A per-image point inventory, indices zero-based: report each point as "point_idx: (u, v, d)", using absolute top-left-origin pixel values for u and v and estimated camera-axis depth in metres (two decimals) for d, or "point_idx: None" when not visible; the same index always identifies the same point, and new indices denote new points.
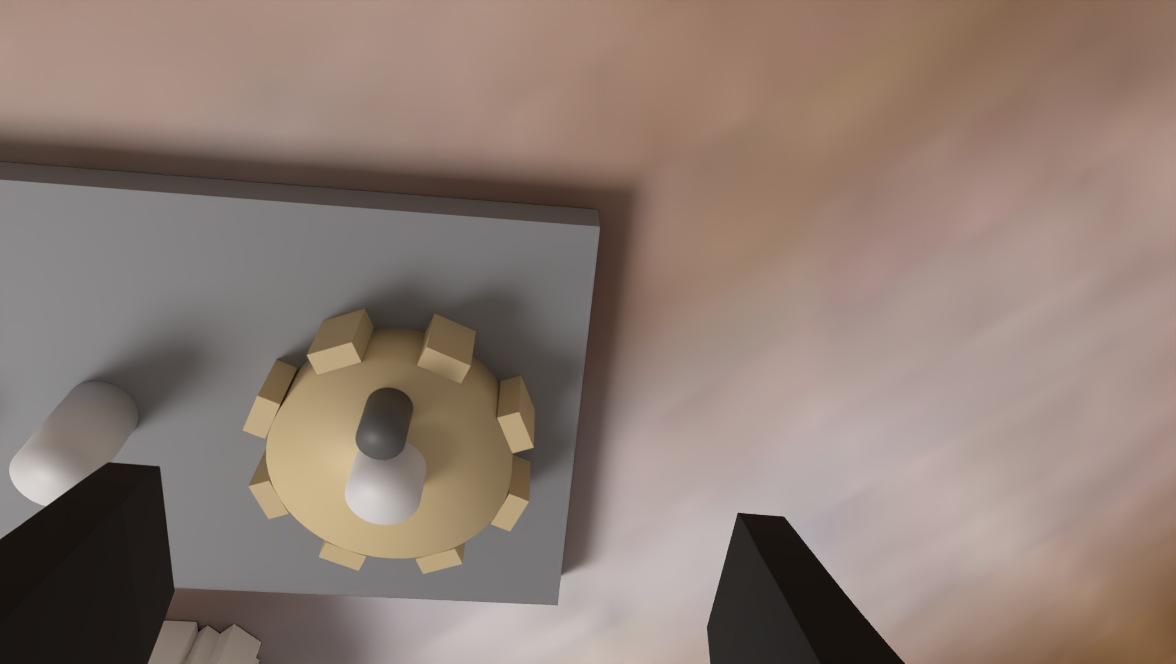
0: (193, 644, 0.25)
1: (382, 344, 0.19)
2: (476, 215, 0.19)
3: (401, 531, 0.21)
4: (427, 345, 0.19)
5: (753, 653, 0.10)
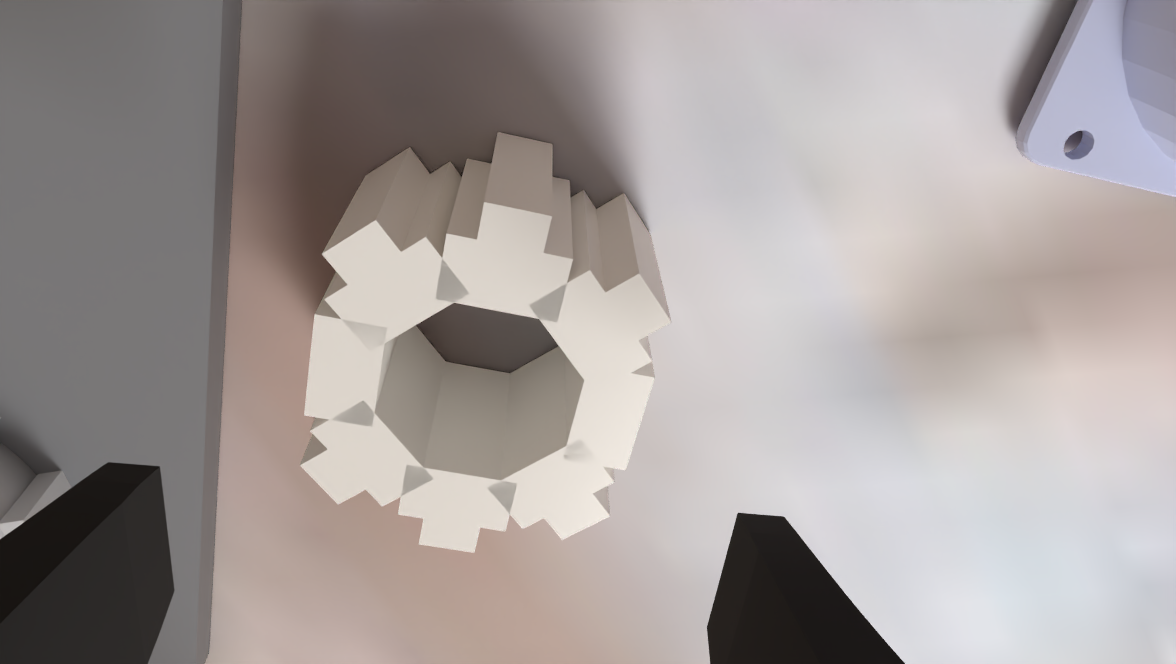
0: None
1: None
2: None
3: None
4: None
5: (753, 653, 0.10)
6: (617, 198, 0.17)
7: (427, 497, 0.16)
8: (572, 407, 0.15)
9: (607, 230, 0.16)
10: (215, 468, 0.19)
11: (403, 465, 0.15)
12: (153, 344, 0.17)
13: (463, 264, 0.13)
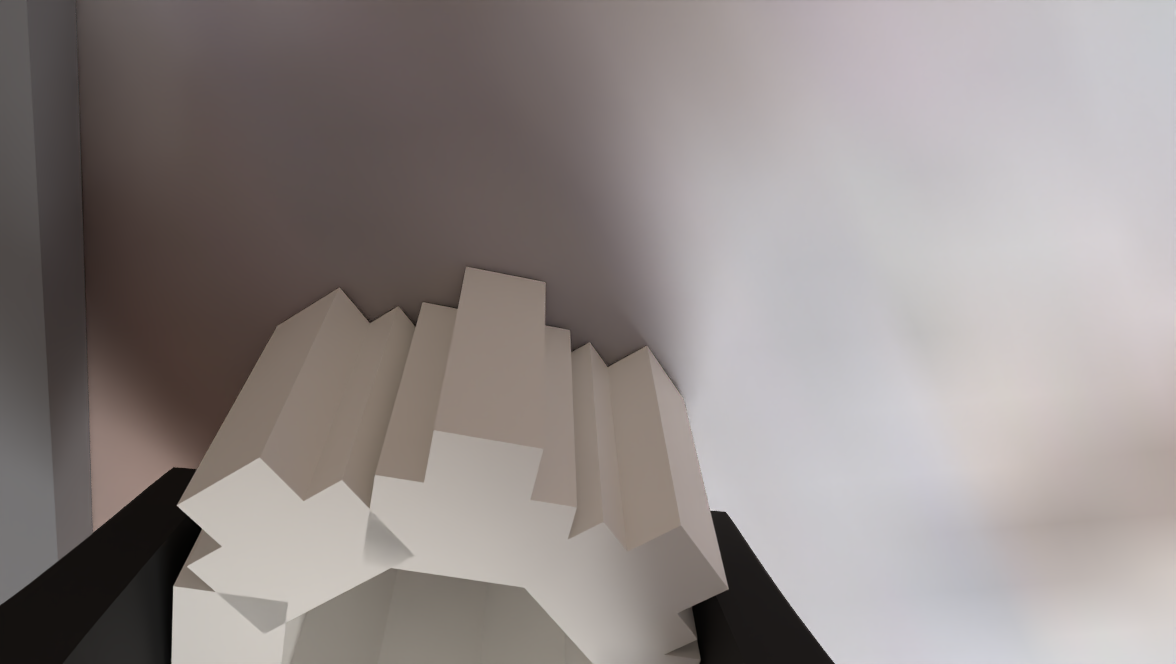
0: None
1: None
2: None
3: None
4: None
5: None
6: (638, 354, 0.12)
7: None
8: None
9: (625, 414, 0.11)
10: None
11: None
12: None
13: (403, 517, 0.09)
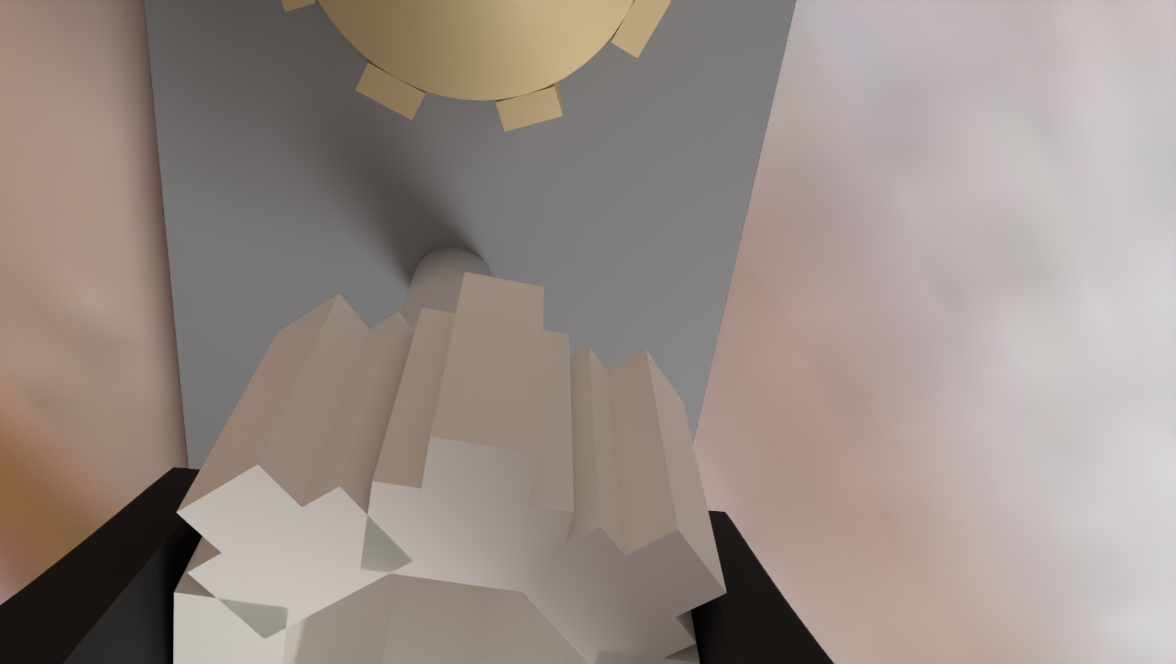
0: None
1: None
2: None
3: None
4: None
5: None
6: (637, 357, 0.12)
7: None
8: None
9: (624, 418, 0.11)
10: None
11: None
12: None
13: (401, 522, 0.09)
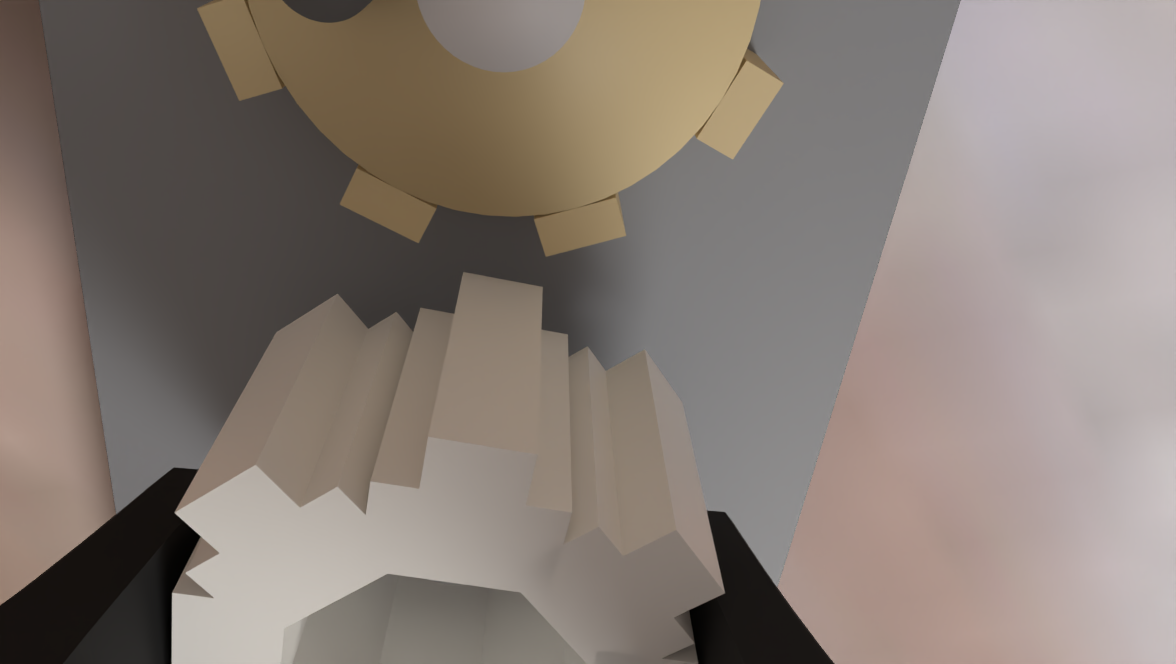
0: None
1: None
2: None
3: None
4: None
5: None
6: (635, 358, 0.12)
7: None
8: None
9: (622, 418, 0.11)
10: None
11: None
12: None
13: (399, 522, 0.09)
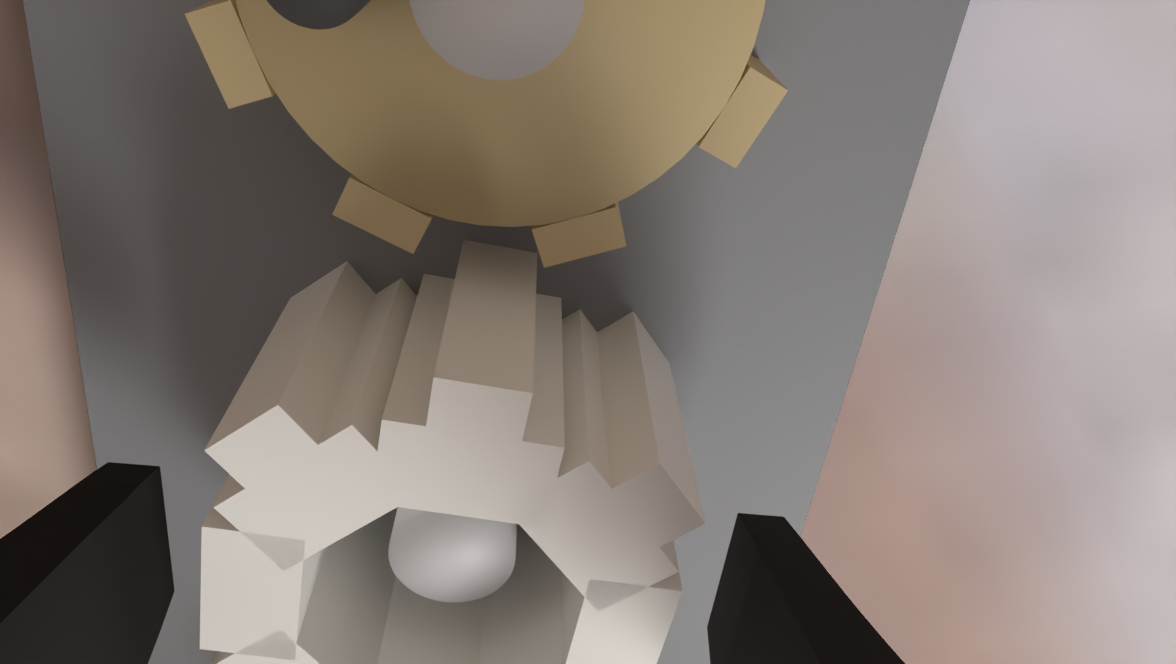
0: None
1: None
2: None
3: None
4: None
5: (753, 653, 0.10)
6: (624, 319, 0.13)
7: None
8: (569, 618, 0.11)
9: (612, 372, 0.12)
10: None
11: None
12: None
13: (408, 458, 0.09)
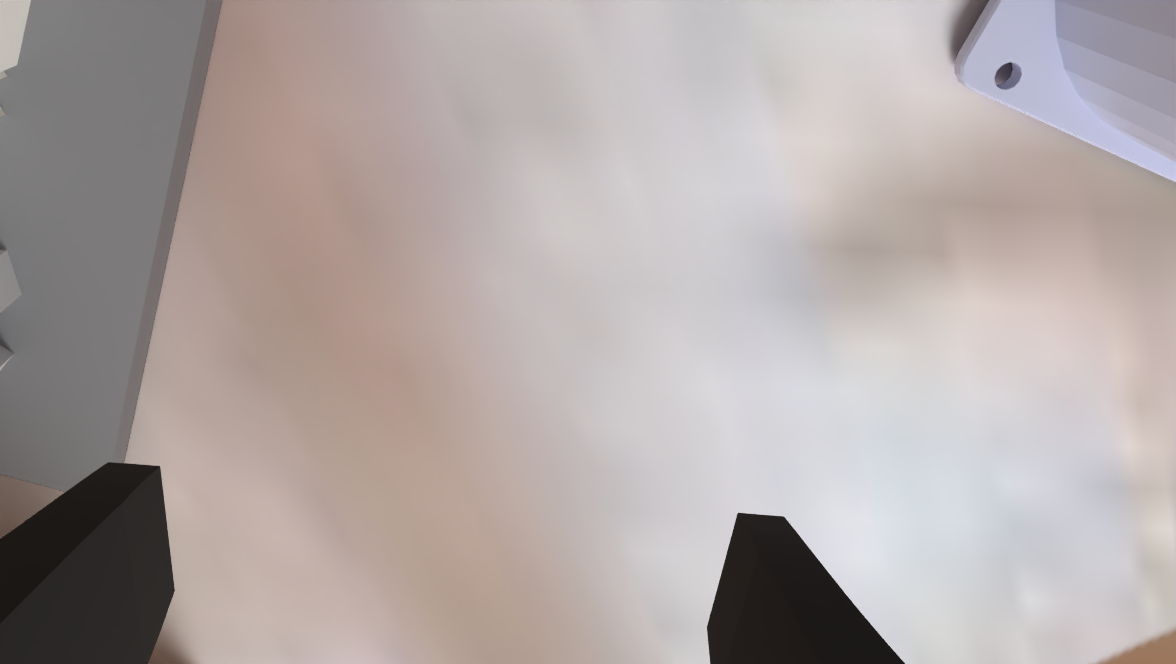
0: None
1: None
2: None
3: None
4: None
5: (753, 653, 0.10)
6: None
7: None
8: None
9: None
10: (160, 278, 0.19)
11: None
12: (121, 129, 0.17)
13: None
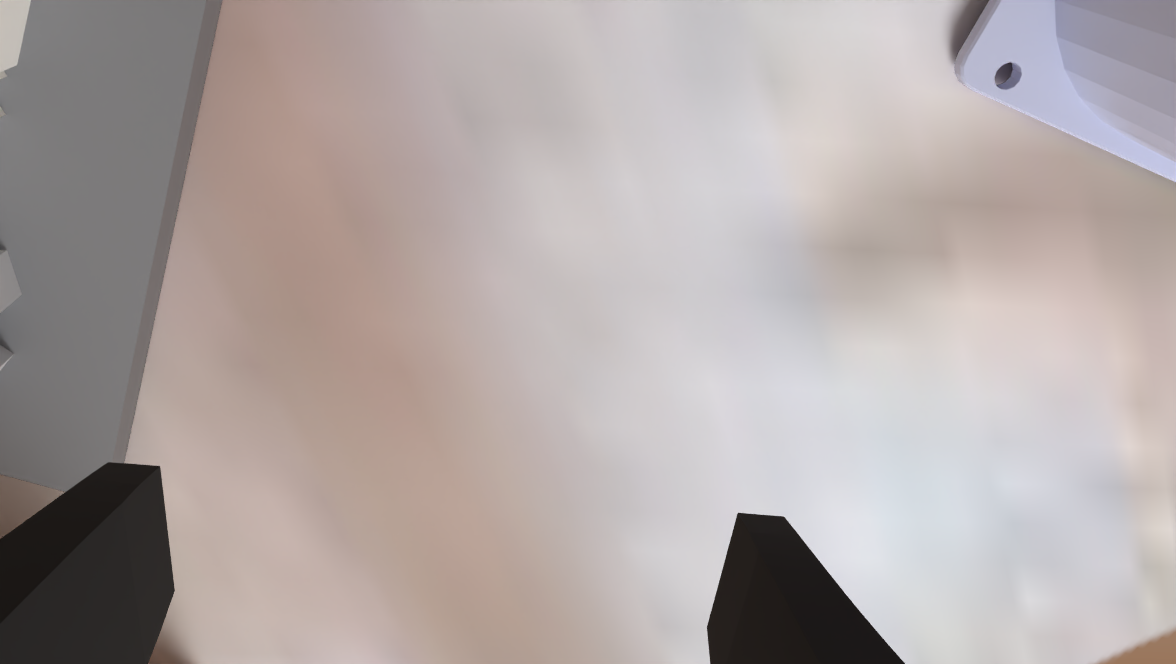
0: None
1: None
2: None
3: None
4: None
5: (753, 653, 0.10)
6: None
7: None
8: None
9: None
10: (160, 278, 0.19)
11: None
12: (121, 129, 0.17)
13: None
